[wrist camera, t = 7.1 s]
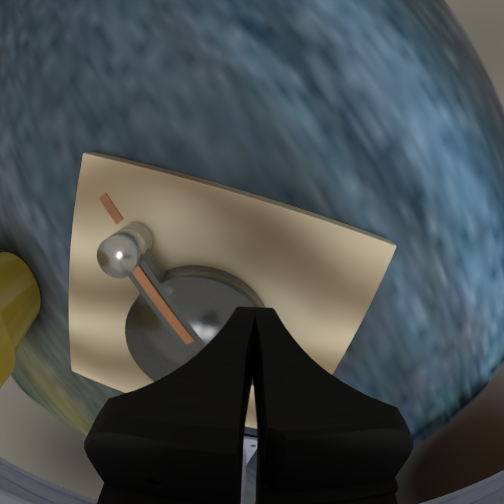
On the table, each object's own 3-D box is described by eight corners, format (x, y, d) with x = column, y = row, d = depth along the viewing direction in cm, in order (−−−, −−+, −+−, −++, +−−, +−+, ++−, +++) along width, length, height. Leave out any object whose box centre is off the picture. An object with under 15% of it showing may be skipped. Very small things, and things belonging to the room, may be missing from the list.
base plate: (292, 422, 25) (294, 435, 24) (78, 360, 24) (71, 371, 22) (387, 239, 19) (397, 246, 18) (94, 151, 18) (82, 153, 16)
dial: (294, 351, 20) (299, 383, 17) (187, 394, 22) (179, 424, 19) (188, 183, 17) (172, 192, 14) (80, 259, 18) (54, 278, 15)
